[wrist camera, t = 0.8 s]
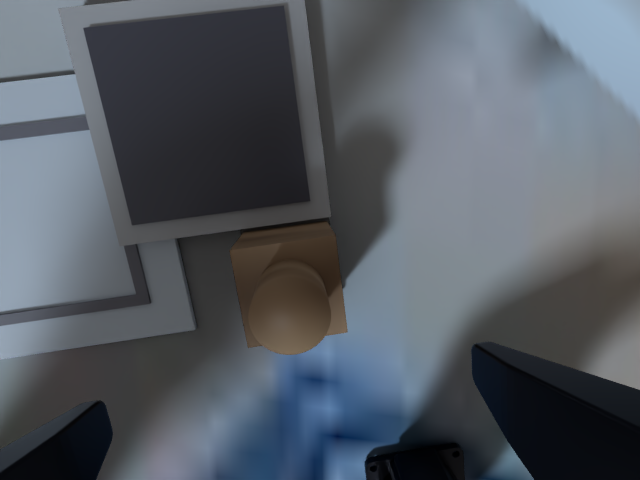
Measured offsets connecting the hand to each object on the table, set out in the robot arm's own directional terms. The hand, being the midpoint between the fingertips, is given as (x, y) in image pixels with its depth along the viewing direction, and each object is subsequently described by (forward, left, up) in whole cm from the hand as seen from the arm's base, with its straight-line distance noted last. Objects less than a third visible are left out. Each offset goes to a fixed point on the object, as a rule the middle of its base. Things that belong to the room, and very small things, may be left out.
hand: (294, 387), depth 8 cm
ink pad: (+8, +3, -12) cm, 14 cm away
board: (+4, +13, -12) cm, 18 cm away
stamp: (0, 0, -12) cm, 12 cm away
